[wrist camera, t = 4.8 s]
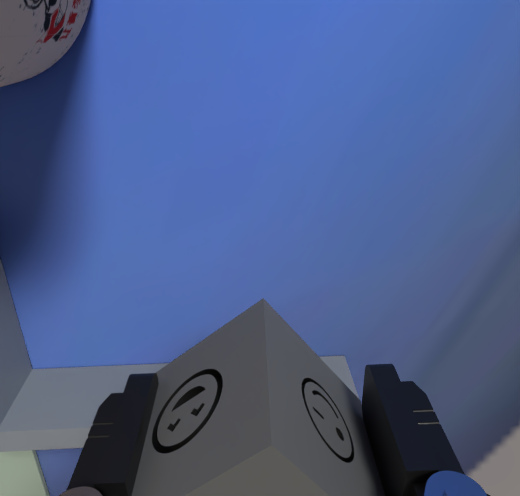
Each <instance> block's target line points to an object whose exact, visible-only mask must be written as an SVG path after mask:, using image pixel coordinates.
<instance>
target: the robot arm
mask: <svg viewBox="0 0 520 496" xmlns="http://www.w3.org/2000/svg"><path fill="white" fill-rule="evenodd" d="M158 385H159V381H158V376H157V374H156V373H143V374H130V375H129V377H128V380H127V383H126V386H125V389H124V392H123V393H111V394H110V395H109V396H108V397H107V398H106V400H105V401H104V402H103V403H102V404H101V405H100V406H99V408H98V410H97V413H96V416H95V418H94V421H93V426H91V429H90V431H89V434H88V439H86V442H85V444H84V447H83V449H82V452H81V455H80V457H79V460H78V462H77V465H76V468H75V470H74V473H73V475H72V478H71V481H70V483H69V486H68V488H67V490H66V491H65V492H63V493H62V494H60V495H59V496H132V492H133V488H134V484H135V480H136V475H137V471H138V467H139V463H140V459H141V455H142V451H143V447H144V443H145V438H146V434H147V430H148V426H149V422H150V418H151V414H152V410H153V405H154V401H155V397H156V393H157V389H158ZM362 415H363V421H364V424H365V428H366V431H367V435H368V438H369V441H370V445H371V448H372V452H373V455H374V459H375V462H376V465H377V469H378V472H379V476H380V479H381V483H382V486H383V489H384V493H385V496H490V495H488V494H486V493H485V491H484V490H483V489H482V488H481V486H480V485H479V484H478V483H476V482H475V481H474V480H473V479H471V478H470V477H468V476H466V475H465V474H464V472H463V470H462V468H461V466H460V464H459V462H458V460H457V458H456V456H455V453H454V451H453V449H452V447H451V445H450V443H449V441H448V439H447V437H446V435H445V433H444V431H443V429H442V426H441V424H439V420H438V418H437V416H436V414H435V412H433V408H432V406H431V404H430V402H429V399H428V397H427V395H426V394H425V393H424V392H423V391H422V390H421V389H420V388H419V387H418V386H417V385H416V384H415V383H414V382H413V381H406V382H401V381H400V379H399V377H398V374H397V372H396V370H395V367H394V366H393V365H392V364H376V365H366V367H365V375H364V386H363V397H362Z"/></svg>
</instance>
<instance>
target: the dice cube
mask: <svg viewBox="0 0 520 496" xmlns="http://www.w3.org/2000/svg"><path fill="white" fill-rule="evenodd" d="M156 374H157V376H158V381H159V385H158V389H157V393H156V397H155V401H154V405H153V410H152V414H151V418H150V422H149V426H148V430H147V434H146V438H145V443H144V447H143V451H142V455H141V459H140V463H139V467H138V471H137V475H136V480H135V484H134V488H133V492H132V496H385V493H384V489H383V486H382V483H381V479H380V476H379V472H378V469H377V465H376V462H375V459H374V455H373V452H372V448H371V445H370V441H369V438H368V435H367V431H366V428H365V424H364V421H363V415H362V405H361V401H360V399H359V398H358V397H357V396H356V395H355V394H354V393H353V392H352V391H351V390H350V389H349V388H348V387H347V386H346V385H345V384H344V383H343V382H342V381H341V379H340V378H339V377H338V376H337V375H336V374H335V373H334V372H333V371H332V370H331V369H330V368H329V367H328V366H327V365H326V364H325V363H324V362H323V361H322V359H321V358H320V357H319V356H318V355H317V354H316V353H315V352H314V351H313V350H312V349H311V348H310V347H309V346H308V345H307V344H306V343H305V342H304V341H303V339H302V338H301V337H300V336H299V335H298V334H297V333H296V332H295V331H294V330H293V329H292V328H291V327H290V326H289V325H288V324H287V323H286V322H285V321H284V320H283V318H282V317H281V316H280V315H279V314H278V313H277V312H276V311H275V310H274V309H273V308H272V307H271V306H270V305H269V304H268V303H267V302H266V301H265V300H264V298H263V299H262V300H260V301H259V302H257V303H256V304H254V305H253V306H252V307H250V308H249V309H247V310H246V311H244V312H243V313H241V314H240V315H238V316H237V317H236V318H234V319H233V320H231V321H230V322H228V323H227V324H225V325H224V326H223V327H221V328H220V329H218V330H217V331H215V332H214V333H212V334H211V335H209V336H208V337H207V338H205V339H204V340H202V341H201V342H199V343H198V344H196V345H195V346H194V347H192V348H191V349H189V350H188V351H186V352H185V353H183V354H182V355H180V356H179V357H178V358H176V359H175V360H173V361H172V362H170V363H169V364H167V365H166V366H165V367H163V368H162V369H160V370H159V371H157V372H156Z"/></svg>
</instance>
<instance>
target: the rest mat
mask: <svg viewBox="0 0 520 496" xmlns="http://www.w3.org/2000/svg"><path fill="white" fill-rule="evenodd" d="M0 496H50V495H49V492H48V488H47V485H46V482H45V479H44V476H43V473H42V469H41V466H40V463H39V460H38V457H37V454H36V450H29V451H10V452H0Z"/></svg>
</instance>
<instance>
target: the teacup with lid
mask: <svg viewBox="0 0 520 496" xmlns="http://www.w3.org/2000/svg"><path fill="white" fill-rule="evenodd" d="M90 1H91V0H0V87H2V86H6V85H10V84H13V83H17V82H21V81H23V80H26V79H29V78H32V77H34V76H36V75H38V74H40V73H42V72H43V71H45V70H46V69H48V68H50V67H51V66H52V65H53V64H55V63H56V62H57V61H58V60H59V59H60V58H61V57H62V56H63V55H64V54H65V53H66V52H67V51H68V50H69V48H70V47H71V46H72V44H73V43H74V41H75V40H76V38H77V36H78V35H79V33H80V31H81V29H82V26H83V24H84V22H85V19H86V16H87V13H88V10H89V6H90Z"/></svg>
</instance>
